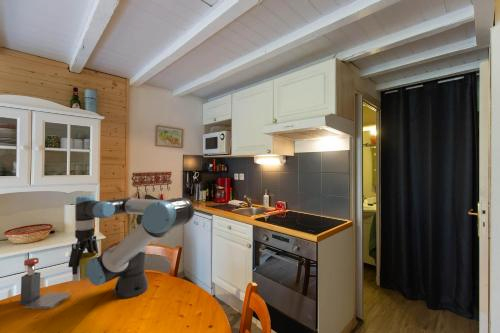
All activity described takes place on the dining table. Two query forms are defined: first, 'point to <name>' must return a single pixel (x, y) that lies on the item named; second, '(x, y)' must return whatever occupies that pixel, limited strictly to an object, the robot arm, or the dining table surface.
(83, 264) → the plant pot
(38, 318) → the dining table surface
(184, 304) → the dining table surface
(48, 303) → the press base
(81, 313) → the dining table surface
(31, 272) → the ram
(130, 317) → the dining table surface
